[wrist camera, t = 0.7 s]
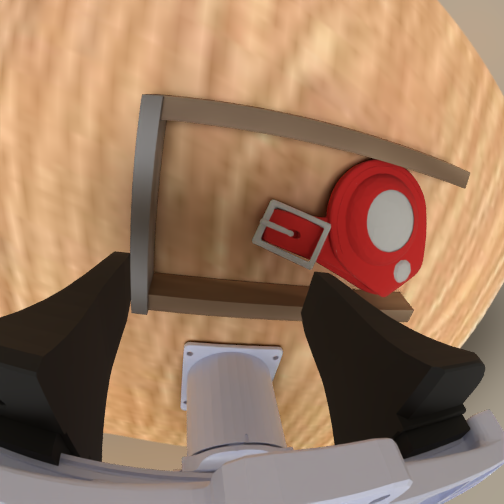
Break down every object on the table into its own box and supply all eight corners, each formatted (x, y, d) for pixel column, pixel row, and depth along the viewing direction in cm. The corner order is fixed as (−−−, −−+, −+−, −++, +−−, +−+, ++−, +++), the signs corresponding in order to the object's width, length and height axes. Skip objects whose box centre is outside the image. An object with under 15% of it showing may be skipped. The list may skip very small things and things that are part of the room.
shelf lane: (394, 303, 25) (410, 325, 23) (139, 285, 21) (131, 313, 18) (448, 162, 19) (474, 174, 17) (152, 94, 15) (142, 94, 13)
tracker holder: (412, 133, 17) (453, 265, 20) (375, 141, 22) (416, 254, 24) (247, 220, 16) (321, 365, 18) (232, 215, 20) (296, 337, 23)
